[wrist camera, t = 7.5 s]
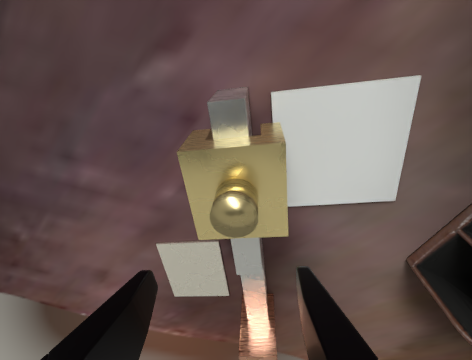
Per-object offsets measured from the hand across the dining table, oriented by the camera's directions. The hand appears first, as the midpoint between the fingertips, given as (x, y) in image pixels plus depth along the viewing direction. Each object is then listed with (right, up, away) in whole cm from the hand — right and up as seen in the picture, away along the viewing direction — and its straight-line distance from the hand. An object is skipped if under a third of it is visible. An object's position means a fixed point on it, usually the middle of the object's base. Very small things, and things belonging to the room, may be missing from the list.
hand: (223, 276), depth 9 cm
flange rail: (-2, 0, +13) cm, 13 cm away
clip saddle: (+1, +4, +8) cm, 9 cm away
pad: (+8, +6, +9) cm, 13 cm away
